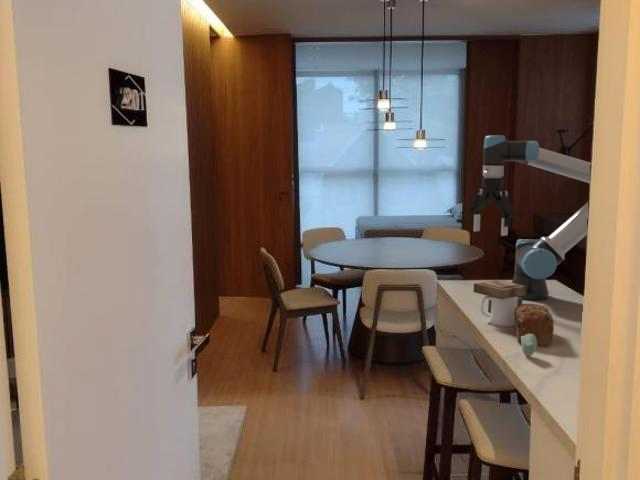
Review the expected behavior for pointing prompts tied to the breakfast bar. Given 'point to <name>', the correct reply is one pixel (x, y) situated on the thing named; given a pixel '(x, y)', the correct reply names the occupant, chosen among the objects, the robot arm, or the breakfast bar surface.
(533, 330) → the bread
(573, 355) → the breakfast bar surface
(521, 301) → the block
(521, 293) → the lid
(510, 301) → the cup
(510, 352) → the breakfast bar surface
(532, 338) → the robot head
